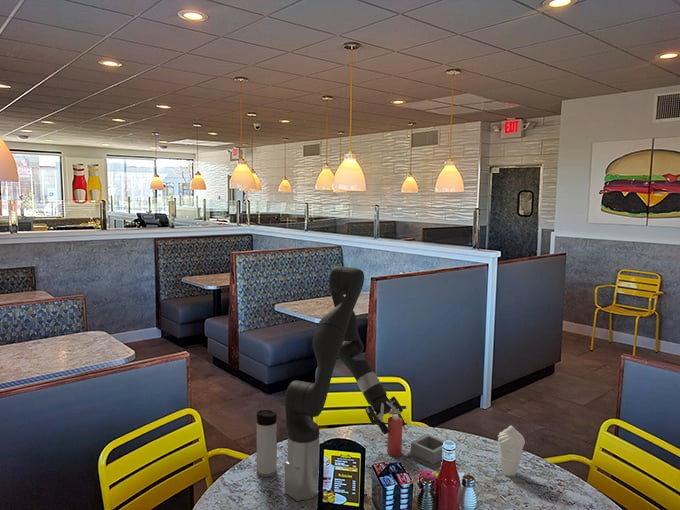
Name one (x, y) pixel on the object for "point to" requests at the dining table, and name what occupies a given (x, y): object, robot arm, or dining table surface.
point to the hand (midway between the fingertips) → (395, 429)
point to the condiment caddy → (427, 451)
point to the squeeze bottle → (394, 435)
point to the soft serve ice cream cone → (510, 450)
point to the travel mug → (266, 443)
